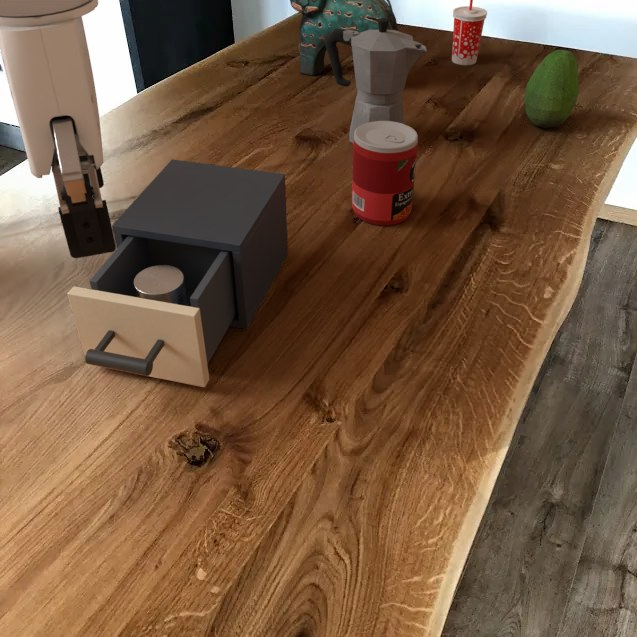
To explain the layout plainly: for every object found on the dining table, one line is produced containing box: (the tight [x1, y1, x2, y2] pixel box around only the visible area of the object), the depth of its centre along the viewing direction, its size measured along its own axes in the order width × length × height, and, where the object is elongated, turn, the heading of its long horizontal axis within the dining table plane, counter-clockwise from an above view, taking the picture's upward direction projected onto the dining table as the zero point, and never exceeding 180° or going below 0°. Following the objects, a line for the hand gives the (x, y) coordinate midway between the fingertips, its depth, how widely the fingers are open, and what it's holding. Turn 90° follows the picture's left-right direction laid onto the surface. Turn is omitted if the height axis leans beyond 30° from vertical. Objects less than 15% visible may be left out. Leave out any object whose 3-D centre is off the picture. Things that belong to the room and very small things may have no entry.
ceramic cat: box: [289, 0, 399, 77], centre depth 125 cm, size 20×6×20 cm, turn 61°
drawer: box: [66, 235, 238, 388], centre depth 72 cm, size 18×13×9 cm
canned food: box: [351, 121, 419, 226], centre depth 93 cm, size 8×8×11 cm
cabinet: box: [111, 159, 289, 330], centre depth 81 cm, size 15×14×11 cm
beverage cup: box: [451, 0, 488, 66], centre depth 133 cm, size 6×6×14 cm
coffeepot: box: [325, 18, 428, 145], centre depth 108 cm, size 15×9×18 cm, turn 65°
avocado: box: [523, 49, 580, 129], centre depth 112 cm, size 8×8×12 cm
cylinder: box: [134, 265, 188, 306], centre depth 73 cm, size 5×5×6 cm
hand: (89, 218), depth 56 cm, fingers open, 9 cm apart
